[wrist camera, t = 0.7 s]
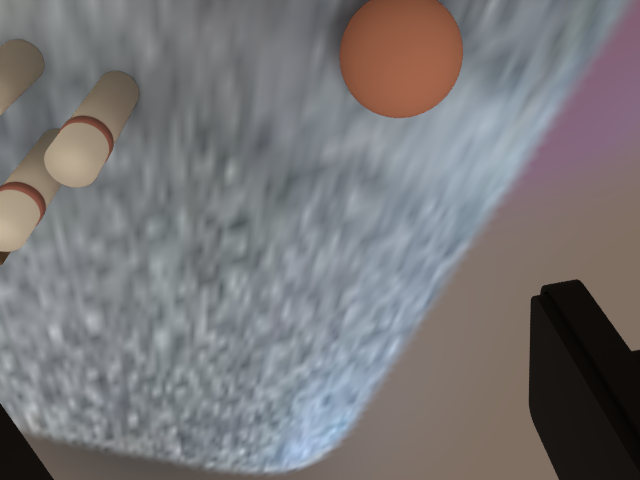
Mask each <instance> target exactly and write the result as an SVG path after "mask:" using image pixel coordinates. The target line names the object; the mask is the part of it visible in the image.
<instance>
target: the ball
mask: <svg viewBox="0 0 640 480" xmlns="http://www.w3.org/2000/svg"><path fill="white" fill-rule="evenodd" d="M462 59H463V45H462V38H461V34H460V31H459V28H458V26H457V23H456V22H455V20H454V18H453V16H452V15H451V14H450V12H449V11H448V10H447V9H446V8H445V7H444V6H443V5H442V4H441V3H440V2H438V1H437V0H369V1H368V2H367V3H365V4H364V5H363V6H362V7H361V8H360V9H359V10H358V11H357V12H356V13H355V14H354V16H353V17H352V18H351V20H350V22H349V23H348V25H347V27H346V30H345V32H344V34H343V37H342V41H341V46H340V67H341V72H342V76H343V78H344V81H345V83H346V85H347V87H348V89H349V91H350V92H351V94H352V95H353V96H354V98H355V99H356V100H357V101H358V102H359V103H361V104H362V105H363V106H364V107H366V108H367V109H369V110H370V111H372V112H374V113H377V114H379V115H383V116H386V117H393V118H405V117H412V116H416V115H419V114H421V113H424V112H426V111H428V110H430V109H431V108H433V107H434V106H436V105H437V104H438V103H439V102H441V101H442V100H443V99H444V98H445V97H446V96H447V94H448V93H449V92H450V90H451V89H452V87H453V86H454V84H455V82H456V80H457V78H458V75H459V72H460V69H461V65H462Z"/></svg>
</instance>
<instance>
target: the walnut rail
mask: <svg viewBox="0 0 640 480" xmlns="http://www.w3.org/2000/svg"><path fill="white" fill-rule="evenodd" d="M10 252H11V251H10ZM10 252H3V251H0V265H2V264H3V263H4V261H5V260H6V258H7V256H8V255H9V253H10Z"/></svg>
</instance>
